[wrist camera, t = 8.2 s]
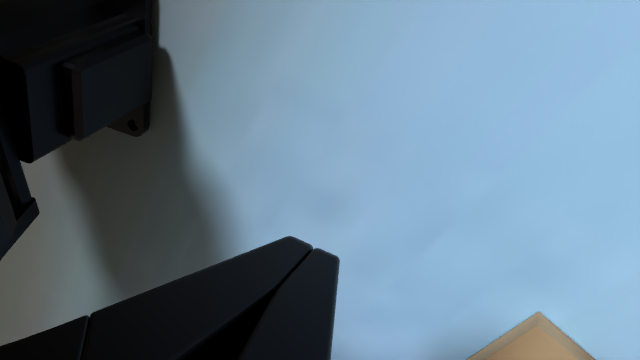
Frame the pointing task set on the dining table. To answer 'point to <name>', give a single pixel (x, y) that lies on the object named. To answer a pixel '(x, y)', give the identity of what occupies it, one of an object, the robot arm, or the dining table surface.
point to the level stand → (533, 343)
